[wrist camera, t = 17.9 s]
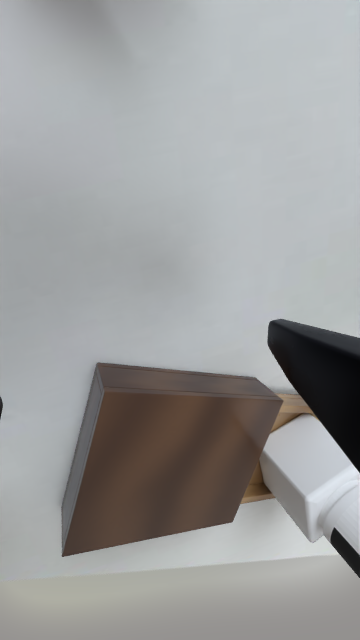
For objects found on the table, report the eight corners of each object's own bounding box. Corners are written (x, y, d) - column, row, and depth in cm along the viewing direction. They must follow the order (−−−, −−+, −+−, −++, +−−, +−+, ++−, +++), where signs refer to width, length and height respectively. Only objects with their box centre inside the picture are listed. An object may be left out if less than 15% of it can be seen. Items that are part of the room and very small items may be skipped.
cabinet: (255, 377, 29) (284, 400, 25) (212, 487, 32) (232, 522, 28) (96, 362, 21) (104, 391, 18) (61, 506, 24) (61, 557, 21)
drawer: (361, 394, 36) (382, 406, 34) (322, 475, 39) (338, 491, 37) (247, 385, 27) (264, 400, 25) (207, 490, 30) (219, 512, 28)
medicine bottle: (310, 451, 34) (422, 555, 23) (262, 482, 32) (361, 610, 22) (306, 409, 31) (434, 507, 20) (254, 441, 29) (364, 566, 18)
